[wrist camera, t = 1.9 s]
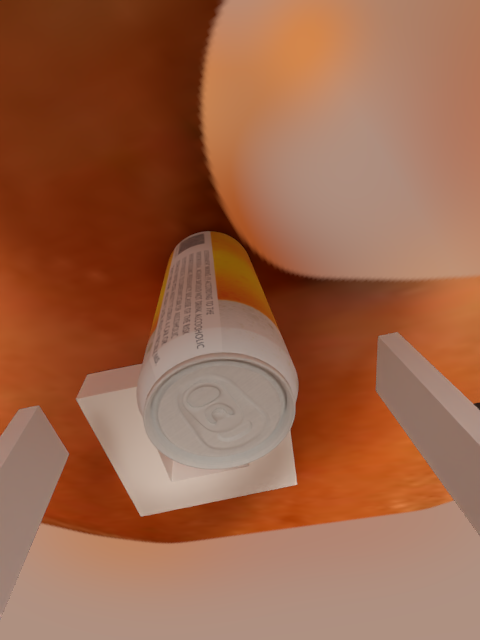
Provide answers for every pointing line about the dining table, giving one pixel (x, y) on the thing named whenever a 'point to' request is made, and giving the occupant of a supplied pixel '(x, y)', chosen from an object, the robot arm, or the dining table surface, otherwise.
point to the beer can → (215, 360)
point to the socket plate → (154, 467)
